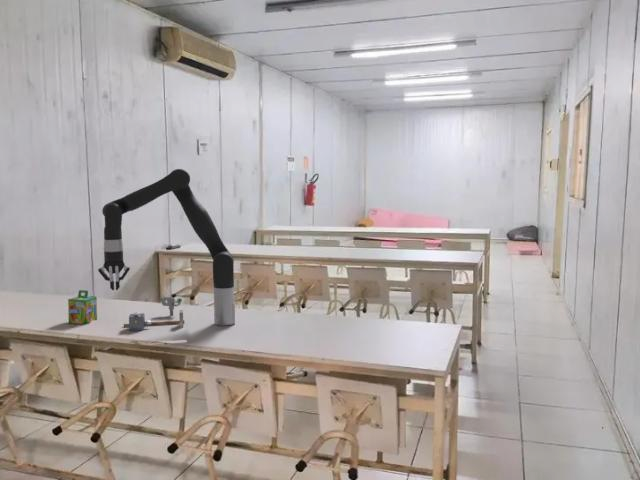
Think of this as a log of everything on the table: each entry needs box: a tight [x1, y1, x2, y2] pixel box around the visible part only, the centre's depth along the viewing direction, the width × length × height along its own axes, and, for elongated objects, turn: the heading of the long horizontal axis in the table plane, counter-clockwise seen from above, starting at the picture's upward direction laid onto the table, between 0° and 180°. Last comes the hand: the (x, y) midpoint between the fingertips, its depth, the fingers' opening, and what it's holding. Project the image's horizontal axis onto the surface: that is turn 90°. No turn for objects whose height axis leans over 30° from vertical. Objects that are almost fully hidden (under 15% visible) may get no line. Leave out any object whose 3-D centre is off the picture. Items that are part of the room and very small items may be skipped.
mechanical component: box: [160, 296, 183, 317], centre depth 254 cm, size 3×10×10 cm, turn 79°
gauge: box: [128, 311, 153, 332], centre depth 229 cm, size 9×8×7 cm
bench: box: [123, 309, 185, 329], centre depth 232 cm, size 26×10×8 cm, turn 104°
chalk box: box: [67, 289, 98, 325], centre depth 247 cm, size 9×9×15 cm
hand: (115, 289), depth 227 cm, fingers closed
